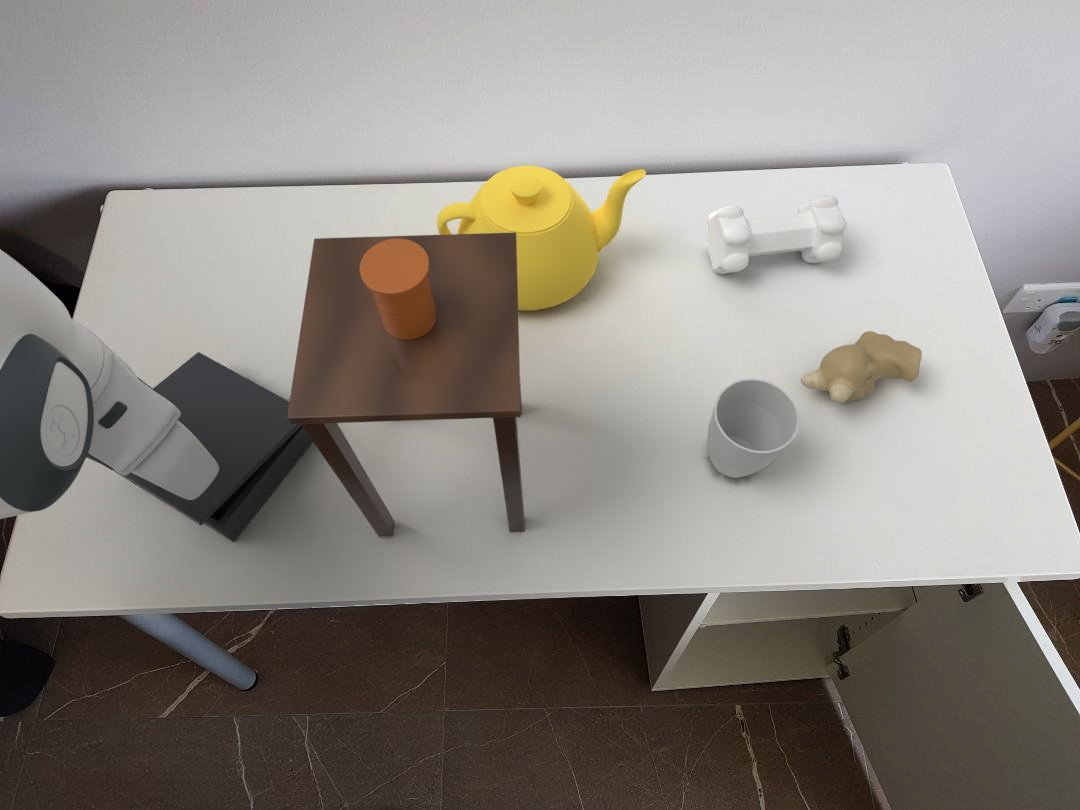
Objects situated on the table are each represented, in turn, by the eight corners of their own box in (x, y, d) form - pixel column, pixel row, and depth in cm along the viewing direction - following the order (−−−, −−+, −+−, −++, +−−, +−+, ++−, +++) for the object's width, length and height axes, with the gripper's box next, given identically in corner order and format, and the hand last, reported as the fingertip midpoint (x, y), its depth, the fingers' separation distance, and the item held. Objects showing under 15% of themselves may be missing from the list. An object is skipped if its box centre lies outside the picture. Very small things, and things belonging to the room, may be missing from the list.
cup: (775, 491, 75) (805, 453, 66) (698, 490, 75) (719, 452, 66) (764, 423, 79) (792, 378, 70) (692, 422, 79) (710, 378, 70)
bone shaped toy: (810, 224, 92) (833, 178, 85) (832, 276, 88) (857, 232, 81) (699, 237, 92) (712, 191, 84) (716, 290, 88) (731, 247, 80)
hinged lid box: (234, 542, 73) (219, 531, 69) (123, 474, 77) (104, 460, 73) (321, 431, 79) (311, 416, 75) (215, 373, 82) (201, 356, 79)
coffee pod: (417, 353, 51) (403, 303, 45) (365, 327, 52) (345, 275, 46) (452, 307, 52) (442, 254, 47) (401, 283, 53) (386, 229, 48)
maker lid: (201, 525, 66) (186, 499, 63) (82, 451, 70) (61, 423, 66) (310, 416, 75) (303, 388, 72) (200, 356, 79) (187, 326, 75)
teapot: (620, 201, 95) (631, 116, 83) (647, 307, 86) (663, 231, 74) (434, 220, 93) (418, 137, 81) (443, 330, 85) (427, 256, 73)
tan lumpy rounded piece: (936, 356, 76) (861, 380, 71) (906, 407, 80) (834, 433, 75) (876, 317, 81) (802, 336, 76) (851, 366, 86) (780, 387, 80)
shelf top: (291, 424, 49) (286, 418, 48) (317, 246, 56) (313, 238, 56) (520, 417, 49) (520, 410, 48) (516, 240, 57) (516, 231, 56)
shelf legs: (378, 536, 73) (297, 419, 49) (388, 407, 80) (321, 250, 56) (524, 531, 73) (515, 412, 49) (521, 403, 80) (511, 244, 56)
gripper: (-54, 364, 57) (52, 436, 69) (131, 480, 52) (210, 535, 64) (8, 308, 59) (100, 387, 72) (190, 413, 55) (255, 479, 67)
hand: (153, 458), depth 68 cm, fingers closed on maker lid, 5 cm apart
